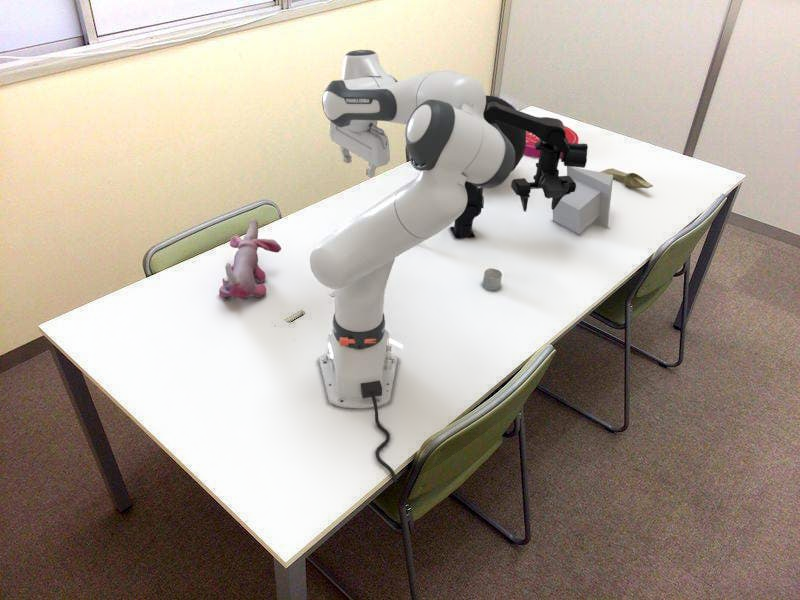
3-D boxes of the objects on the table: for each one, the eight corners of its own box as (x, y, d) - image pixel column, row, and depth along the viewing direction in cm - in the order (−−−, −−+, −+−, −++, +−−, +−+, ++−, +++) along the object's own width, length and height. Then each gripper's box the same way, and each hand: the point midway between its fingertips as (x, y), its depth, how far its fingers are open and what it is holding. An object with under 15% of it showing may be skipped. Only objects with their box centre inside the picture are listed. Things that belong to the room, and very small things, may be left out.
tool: (597, 174, 249) (599, 163, 246) (610, 171, 251) (612, 160, 248) (638, 197, 232) (641, 185, 229) (652, 193, 234) (655, 182, 231)
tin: (492, 278, 190) (494, 266, 187) (503, 287, 186) (505, 275, 184) (479, 283, 188) (481, 271, 185) (489, 292, 184) (491, 280, 182)
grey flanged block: (632, 205, 220) (636, 162, 206) (586, 246, 212) (587, 205, 199) (592, 185, 229) (593, 144, 216) (546, 224, 222) (544, 183, 209)
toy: (299, 270, 187) (288, 223, 179) (243, 315, 171) (228, 266, 163) (250, 258, 196) (238, 213, 188) (193, 300, 180) (176, 253, 172)
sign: (543, 165, 250) (591, 146, 266) (545, 156, 248) (593, 138, 264) (487, 137, 268) (535, 121, 284) (488, 129, 266) (537, 114, 282)
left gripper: (397, 129, 156) (394, 181, 165) (344, 101, 168) (344, 151, 176) (377, 135, 153) (375, 188, 161) (324, 107, 164) (325, 157, 173)
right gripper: (528, 178, 183) (519, 226, 193) (589, 174, 187) (577, 221, 196) (514, 160, 192) (506, 207, 201) (573, 157, 195) (562, 203, 205)
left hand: (358, 168), depth 169 cm, fingers open, 8 cm apart
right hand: (538, 210), depth 201 cm, fingers open, 9 cm apart
